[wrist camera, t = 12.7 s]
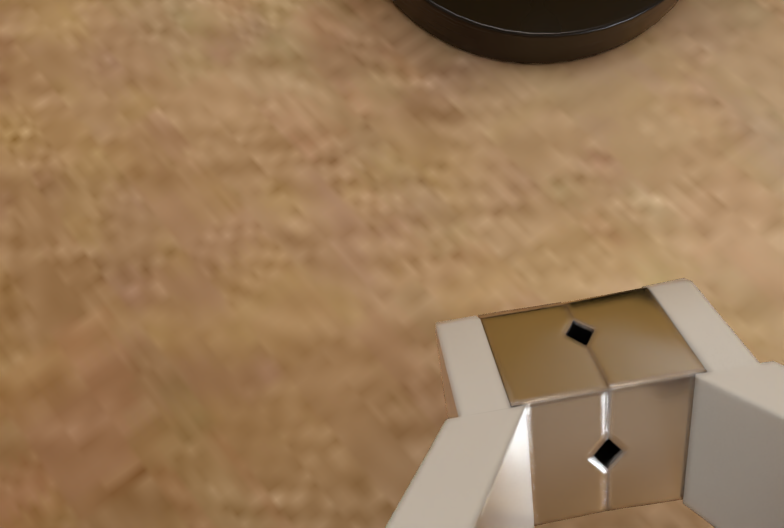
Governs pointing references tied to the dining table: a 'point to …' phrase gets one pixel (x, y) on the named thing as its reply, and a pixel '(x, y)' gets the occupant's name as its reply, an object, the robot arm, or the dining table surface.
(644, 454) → the robot arm
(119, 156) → the dining table surface
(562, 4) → the frame stand
